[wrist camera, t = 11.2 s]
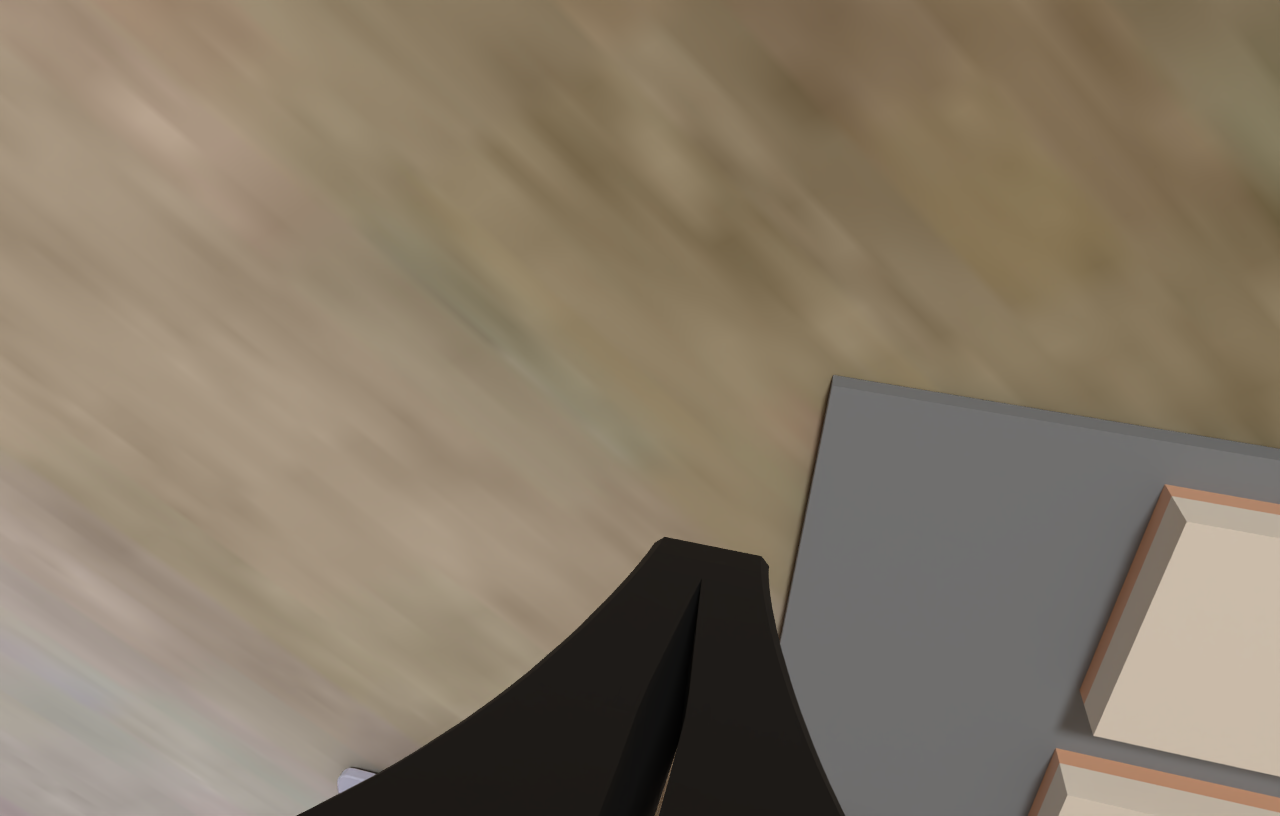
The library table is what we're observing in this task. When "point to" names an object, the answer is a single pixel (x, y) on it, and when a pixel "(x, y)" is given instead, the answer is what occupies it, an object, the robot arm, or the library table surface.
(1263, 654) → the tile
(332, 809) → the robot arm
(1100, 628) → the slate mat
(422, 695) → the library table surface
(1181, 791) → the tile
